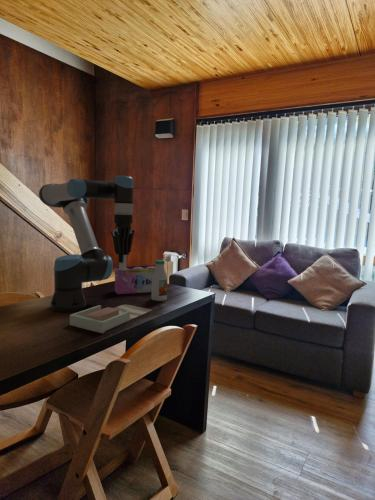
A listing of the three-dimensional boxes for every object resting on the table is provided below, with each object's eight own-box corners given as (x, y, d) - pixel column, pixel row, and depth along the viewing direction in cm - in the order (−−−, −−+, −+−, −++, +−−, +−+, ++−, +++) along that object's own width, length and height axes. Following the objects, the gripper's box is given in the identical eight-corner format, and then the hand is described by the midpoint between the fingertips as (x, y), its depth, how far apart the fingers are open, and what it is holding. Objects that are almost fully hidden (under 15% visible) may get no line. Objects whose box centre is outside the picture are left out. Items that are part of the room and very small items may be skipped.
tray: (98, 314, 147) (98, 305, 147) (129, 321, 140) (130, 311, 139) (69, 324, 133) (69, 314, 133) (102, 333, 126) (102, 322, 125)
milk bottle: (152, 301, 170) (153, 261, 167) (150, 297, 177) (151, 259, 175) (168, 301, 172) (169, 261, 169) (164, 297, 179) (166, 259, 177)
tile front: (97, 320, 139) (97, 310, 139) (108, 322, 136) (109, 313, 136) (86, 324, 134) (86, 314, 133) (98, 327, 131) (98, 317, 131)
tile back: (107, 316, 144) (107, 307, 144) (118, 318, 142) (119, 309, 141) (97, 320, 139) (97, 310, 139) (109, 323, 136) (109, 313, 136)
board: (124, 305, 162) (124, 304, 162) (152, 310, 155) (152, 309, 155) (99, 314, 147) (99, 313, 147) (129, 321, 140) (129, 320, 140)
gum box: (156, 288, 198) (156, 265, 197) (160, 291, 191) (161, 267, 190) (114, 291, 189) (114, 266, 187) (117, 294, 182) (117, 269, 180)
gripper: (126, 213, 151) (125, 266, 154) (105, 213, 139) (105, 271, 142) (140, 214, 147) (139, 268, 150) (120, 214, 136) (119, 273, 139)
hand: (122, 269), depth 146 cm, fingers closed
